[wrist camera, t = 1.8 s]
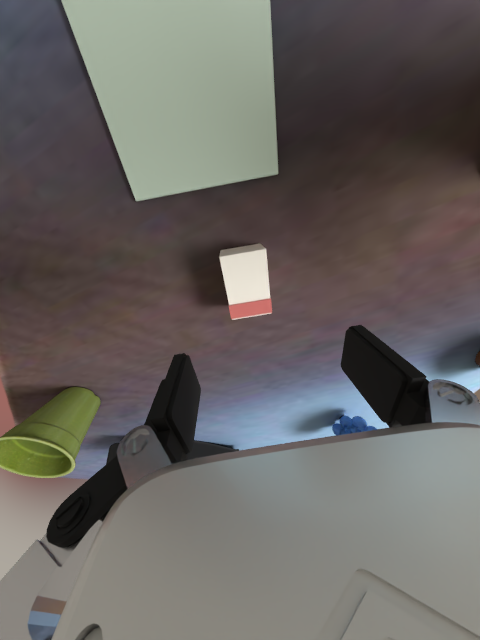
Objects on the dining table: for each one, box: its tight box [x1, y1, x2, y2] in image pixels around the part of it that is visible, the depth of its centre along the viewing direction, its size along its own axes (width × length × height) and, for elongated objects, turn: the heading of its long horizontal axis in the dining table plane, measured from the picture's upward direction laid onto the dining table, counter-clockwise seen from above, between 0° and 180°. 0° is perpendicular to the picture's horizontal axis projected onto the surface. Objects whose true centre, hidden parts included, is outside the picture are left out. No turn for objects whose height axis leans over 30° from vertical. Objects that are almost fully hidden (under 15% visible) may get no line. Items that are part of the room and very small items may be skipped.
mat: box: [61, 0, 278, 201], centre depth 18 cm, size 17×17×1 cm
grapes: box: [332, 416, 378, 435], centre depth 41 cm, size 12×7×12 cm, turn 151°
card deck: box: [219, 243, 272, 320], centre depth 26 cm, size 6×8×5 cm, turn 9°
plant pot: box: [0, 387, 100, 478], centre depth 33 cm, size 12×12×11 cm
